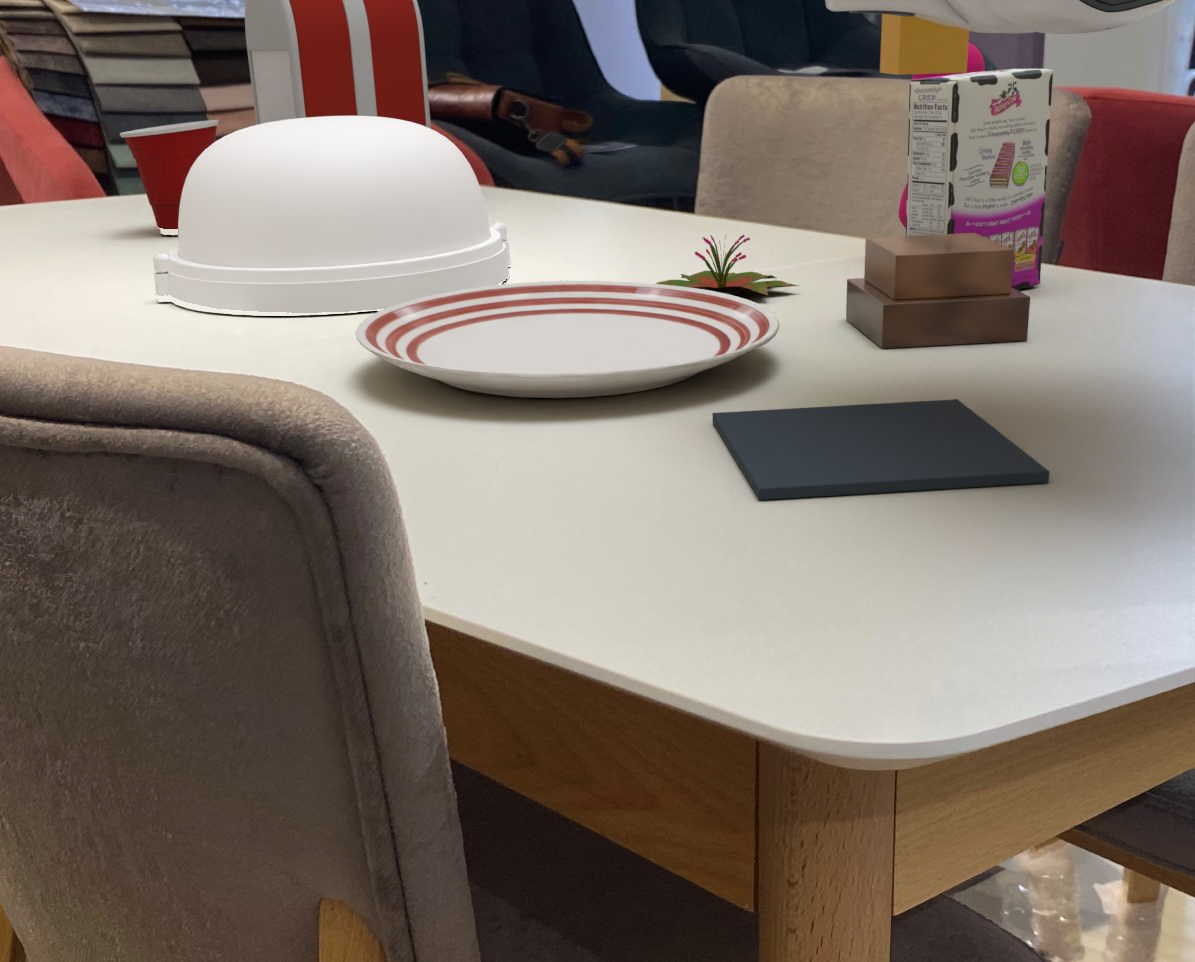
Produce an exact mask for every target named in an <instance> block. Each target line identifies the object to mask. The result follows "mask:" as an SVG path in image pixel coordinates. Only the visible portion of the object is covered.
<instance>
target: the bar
mask: <svg viewBox="0 0 1195 962" xmlns="http://www.w3.org/2000/svg"><path fill="white" fill-rule="evenodd" d="M880 34H881V36H880V37H881V38H880V59H879V73H880V74H888V75H896V76H897V75H898V76H902V75H903V76H904V75H905V76H907V75H912V74H939V73H966V72H967V59H968V43H970V39H969V38H970V31H969V30H965V29H962V28H960V27H949V26H945V25H941V24H938V23H935V22H932V21H928V20H925V19H922V18H918V17H914V16H913V17H906V16H897V15H890V14H881V33H880Z"/></svg>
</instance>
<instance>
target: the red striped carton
mask: <svg viewBox="0 0 1195 962" xmlns="http://www.w3.org/2000/svg"><path fill="white" fill-rule="evenodd" d="M244 5H245V7H244V29H245V30H244V31H245V42H246V53H247V58H248V59H247V60H248V66H249V68H248V69H249V77H250V84H251V93H252V101H253V108H254V109H253V110H254V118H255V125H259V124H263V123H267V122H274V121H280V120H287V119H296V118H308V117H323V116H374V117H386V118H394V119H400V120H405V121H409V122H413V123H416V124H420V125H423V126H425V127H428V128H430V129H432V126H431V113H430V99H429V85H428V75H427V72H428V71H427V60H426V47H425V35H424V27H423V19H422V15H421V10H420V7H419V3H418V0H245V4H244Z"/></svg>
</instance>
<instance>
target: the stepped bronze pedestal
mask: <svg viewBox="0 0 1195 962" xmlns="http://www.w3.org/2000/svg"><path fill="white" fill-rule="evenodd" d="M1013 255H1014V250H1013V249H1011V248H1009V247H1007V246H1004V245H1002V244H999V243H997V242H995V241H992V240H990V239H988V238H985V237H983V236H981V235H978V234H976V233H961V234H940V235H920V236H906V235H903V236H902V235H901V236H900V235H899V236H881V237H880V236H879V237H867V238H865V245H864V276H863V277H861V278H860V277H859V278H847V279H846V302H845V303H846V305H845V307H846V308H845V320H846V321H847V322H848V323H849V324H850V325H852V326H853V327H854V328H856V329H857V330H858V331H860V332H861V333H862V334H864V336H866V337H867V338H868V339H870V340H871V341H872V342H873V343H875V344H876V345H877V346H878V347H880V348H881V349H882V350H883V349H903V348H918V347H919V348H920V347H938V346H939V347H940V346H955V345H976V344H994V343H1011V342H1012V343H1013V342H1026V341H1028V336H1029V335H1028V334H1029V321H1030V320H1029V319H1030V308H1031V296H1030V295H1028V294H1026V293H1024V292H1022V291H1020V290H1016V289H1014V288H1012V287H1011V282H1012V268H1013Z"/></svg>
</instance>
